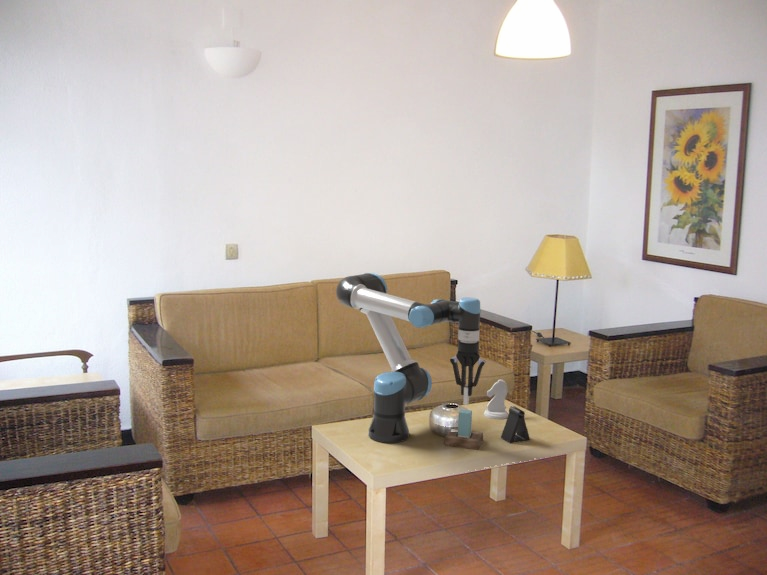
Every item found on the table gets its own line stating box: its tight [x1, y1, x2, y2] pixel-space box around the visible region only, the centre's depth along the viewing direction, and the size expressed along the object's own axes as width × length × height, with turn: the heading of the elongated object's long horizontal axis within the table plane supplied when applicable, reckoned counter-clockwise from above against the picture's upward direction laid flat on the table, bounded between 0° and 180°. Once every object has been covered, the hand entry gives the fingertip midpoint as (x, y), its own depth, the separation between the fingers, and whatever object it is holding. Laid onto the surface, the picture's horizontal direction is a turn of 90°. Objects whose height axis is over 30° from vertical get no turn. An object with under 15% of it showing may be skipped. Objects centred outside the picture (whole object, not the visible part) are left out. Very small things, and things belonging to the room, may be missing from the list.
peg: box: [457, 408, 473, 438], centre depth 288 cm, size 4×4×12 cm
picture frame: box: [500, 405, 531, 444], centre depth 293 cm, size 9×6×12 cm, turn 114°
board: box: [444, 430, 484, 450], centre depth 288 cm, size 12×10×3 cm
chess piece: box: [483, 379, 509, 420], centre depth 319 cm, size 10×10×15 cm
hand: (466, 403), depth 286 cm, fingers closed
